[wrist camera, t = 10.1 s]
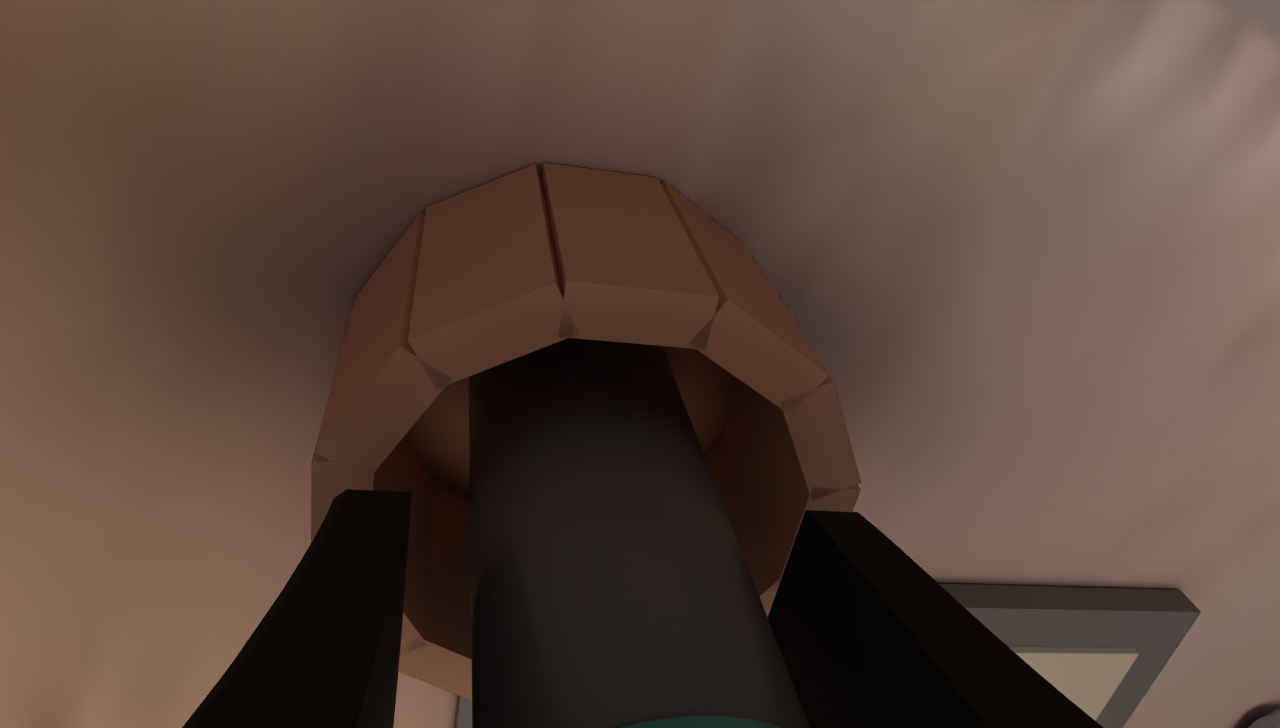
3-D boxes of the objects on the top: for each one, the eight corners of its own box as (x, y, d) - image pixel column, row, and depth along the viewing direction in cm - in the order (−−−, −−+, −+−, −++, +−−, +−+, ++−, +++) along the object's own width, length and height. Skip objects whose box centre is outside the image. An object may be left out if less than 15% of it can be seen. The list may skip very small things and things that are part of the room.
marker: (690, 303, 12) (984, 909, 5) (649, 472, 13) (841, 1123, 7) (475, 282, 11) (494, 951, 5) (456, 463, 13) (448, 1181, 6)
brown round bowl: (816, 198, 12) (927, 318, 9) (717, 533, 15) (776, 707, 12) (358, 138, 11) (312, 254, 8) (348, 519, 14) (310, 711, 11)
